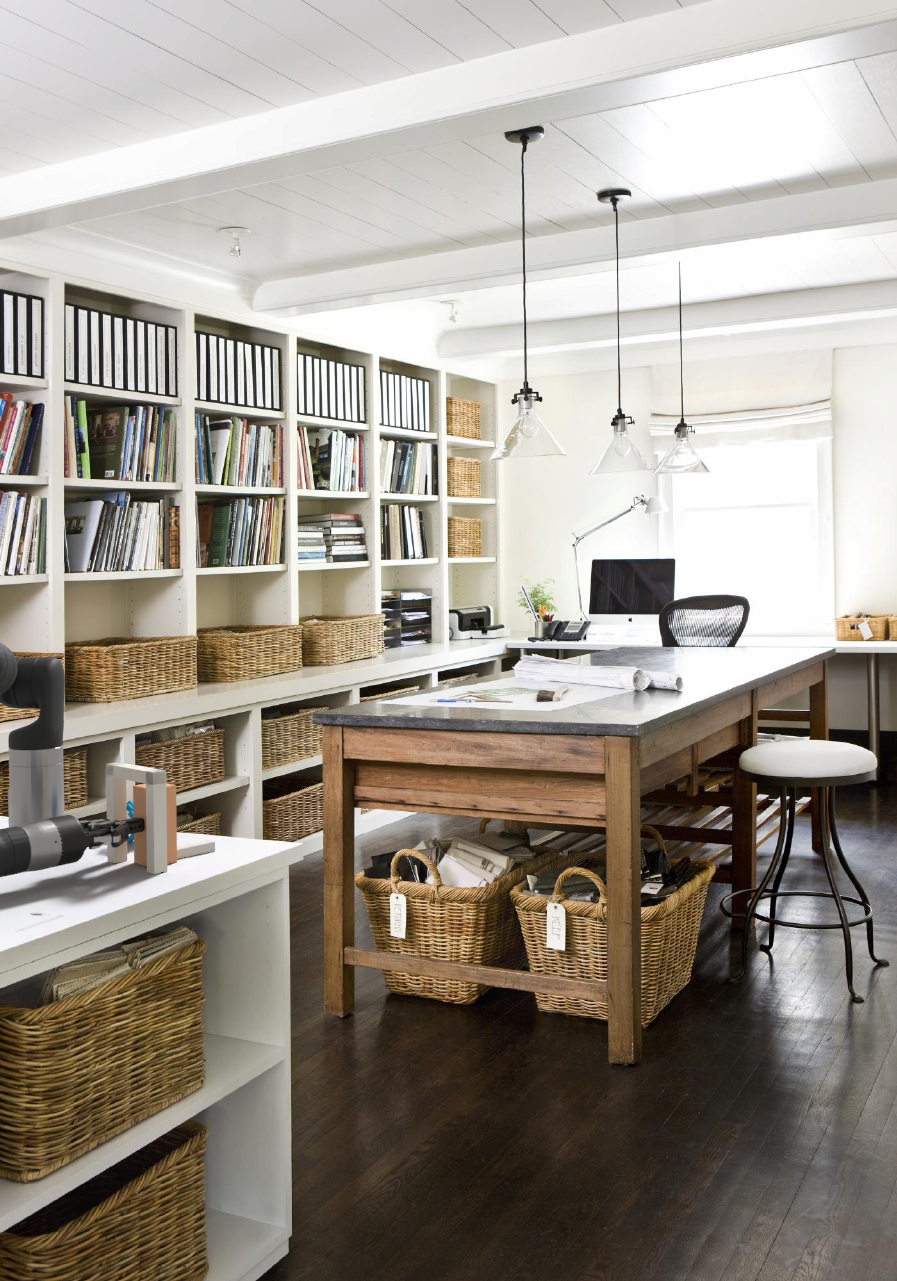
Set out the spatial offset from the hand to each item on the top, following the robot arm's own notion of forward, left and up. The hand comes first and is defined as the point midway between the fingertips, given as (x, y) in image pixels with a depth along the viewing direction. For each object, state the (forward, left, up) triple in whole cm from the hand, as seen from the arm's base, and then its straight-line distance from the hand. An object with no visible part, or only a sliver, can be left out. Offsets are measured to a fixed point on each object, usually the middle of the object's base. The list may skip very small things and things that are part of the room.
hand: (141, 823), depth 190 cm
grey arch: (0, -1, -7) cm, 7 cm away
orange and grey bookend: (0, +7, -7) cm, 10 cm away
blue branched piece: (-13, +11, -7) cm, 18 cm away
